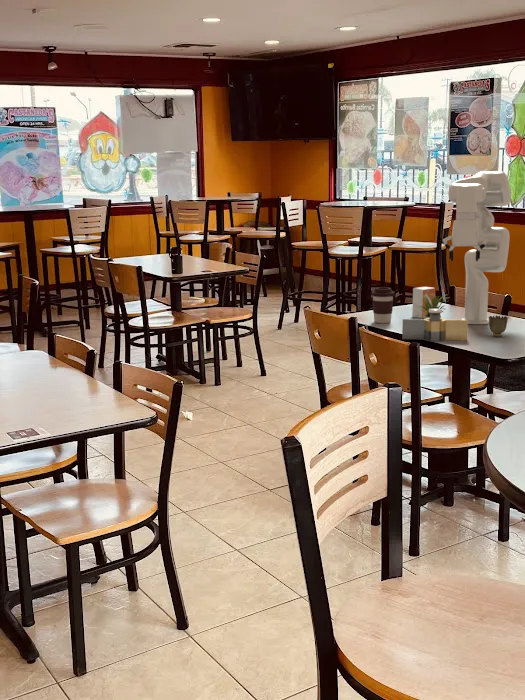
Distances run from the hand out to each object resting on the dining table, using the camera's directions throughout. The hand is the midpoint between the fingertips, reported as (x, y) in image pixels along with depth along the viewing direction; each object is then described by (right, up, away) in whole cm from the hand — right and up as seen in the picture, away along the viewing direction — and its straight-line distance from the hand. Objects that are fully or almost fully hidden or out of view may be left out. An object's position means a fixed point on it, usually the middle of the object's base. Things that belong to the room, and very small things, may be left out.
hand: (464, 260), depth 342 cm
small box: (-7, -20, +49) cm, 54 cm away
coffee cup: (-27, -23, +38) cm, 52 cm away
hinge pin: (-12, -31, +1) cm, 33 cm away
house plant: (-8, -27, +18) cm, 34 cm away
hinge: (-12, -31, +1) cm, 33 cm away
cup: (+14, -30, +5) cm, 34 cm away
